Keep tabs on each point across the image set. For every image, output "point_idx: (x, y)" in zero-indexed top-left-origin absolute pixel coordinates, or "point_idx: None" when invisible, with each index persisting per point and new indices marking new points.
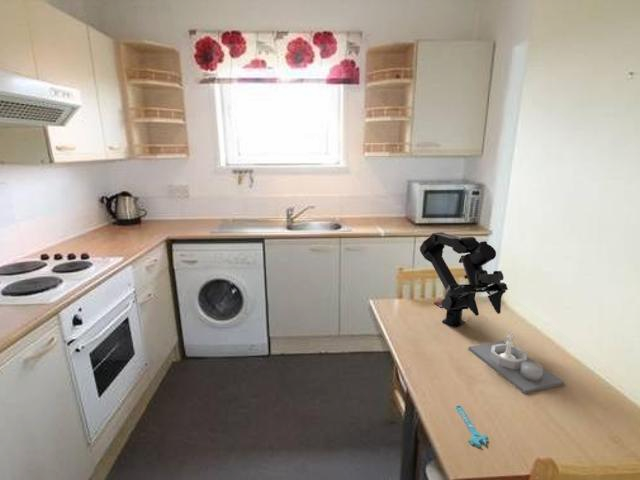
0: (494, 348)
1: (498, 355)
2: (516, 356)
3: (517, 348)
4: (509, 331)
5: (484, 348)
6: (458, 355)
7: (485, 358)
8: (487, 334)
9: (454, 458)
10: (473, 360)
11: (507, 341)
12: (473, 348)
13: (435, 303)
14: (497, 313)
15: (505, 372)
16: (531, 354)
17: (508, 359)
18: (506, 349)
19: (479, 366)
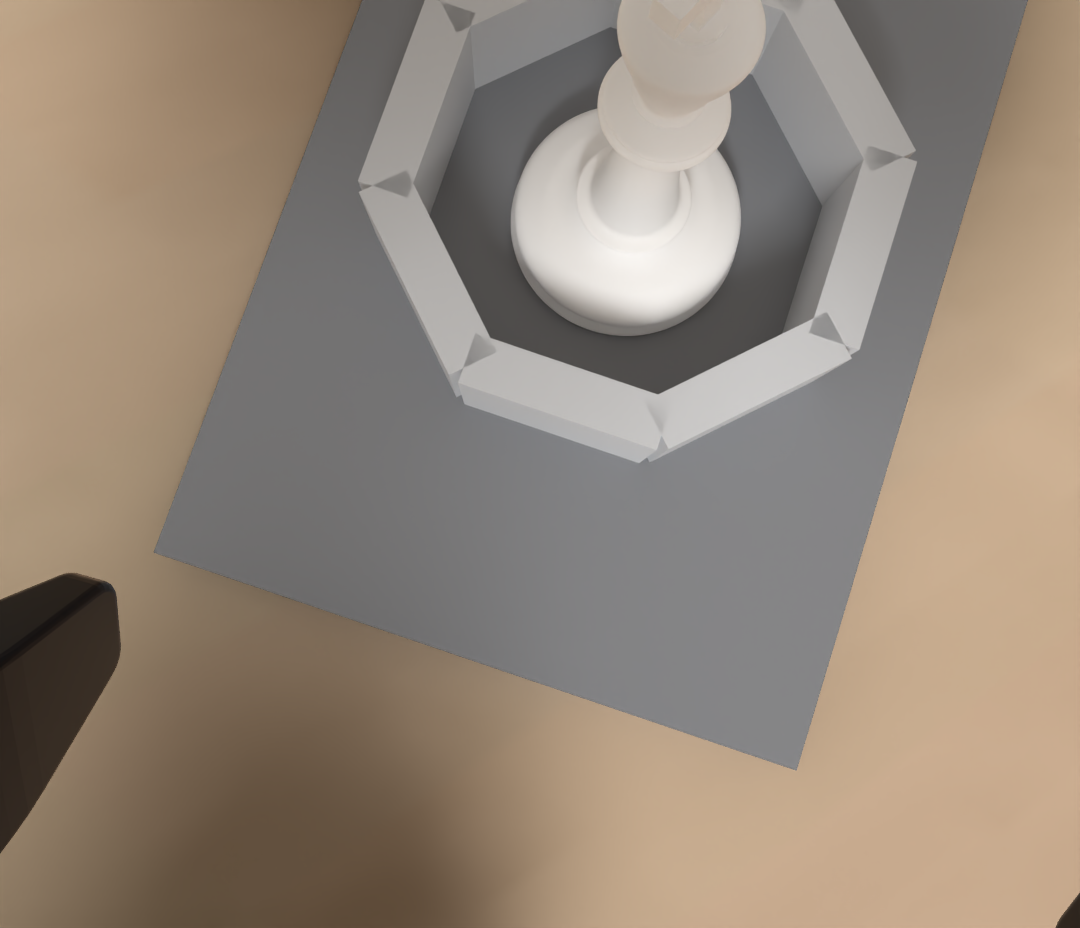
0: (726, 369)
1: (868, 217)
2: (449, 182)
3: (406, 148)
4: (695, 2)
5: (635, 587)
6: (1047, 743)
7: (875, 417)
8: (94, 865)
9: None
10: (975, 534)
11: (689, 122)
12: (778, 691)
13: None
14: (112, 665)
15: (953, 72)
16: (148, 136)
17: (844, 67)
18: (671, 184)
19: (1032, 399)
